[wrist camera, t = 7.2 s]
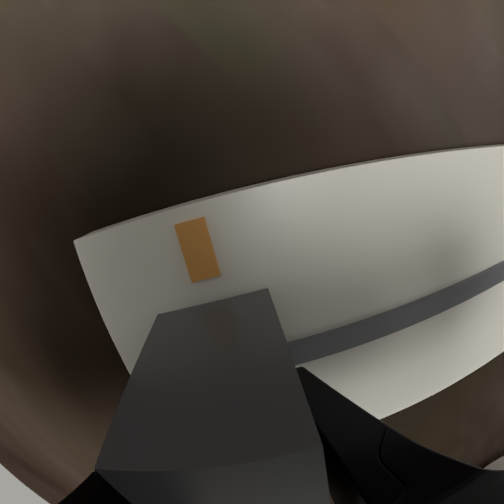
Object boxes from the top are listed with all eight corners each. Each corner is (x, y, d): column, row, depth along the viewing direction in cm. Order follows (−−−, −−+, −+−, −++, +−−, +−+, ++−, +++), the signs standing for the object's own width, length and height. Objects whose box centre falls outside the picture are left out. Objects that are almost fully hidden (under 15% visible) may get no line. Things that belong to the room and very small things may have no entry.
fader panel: (519, 143, 9) (543, 143, 7) (515, 319, 12) (533, 331, 10) (94, 230, 9) (70, 242, 7) (190, 440, 11) (187, 467, 10)
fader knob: (268, 287, 8) (322, 444, 3) (298, 416, 9) (335, 541, 4) (157, 314, 8) (94, 468, 3) (213, 434, 9) (213, 559, 4)
